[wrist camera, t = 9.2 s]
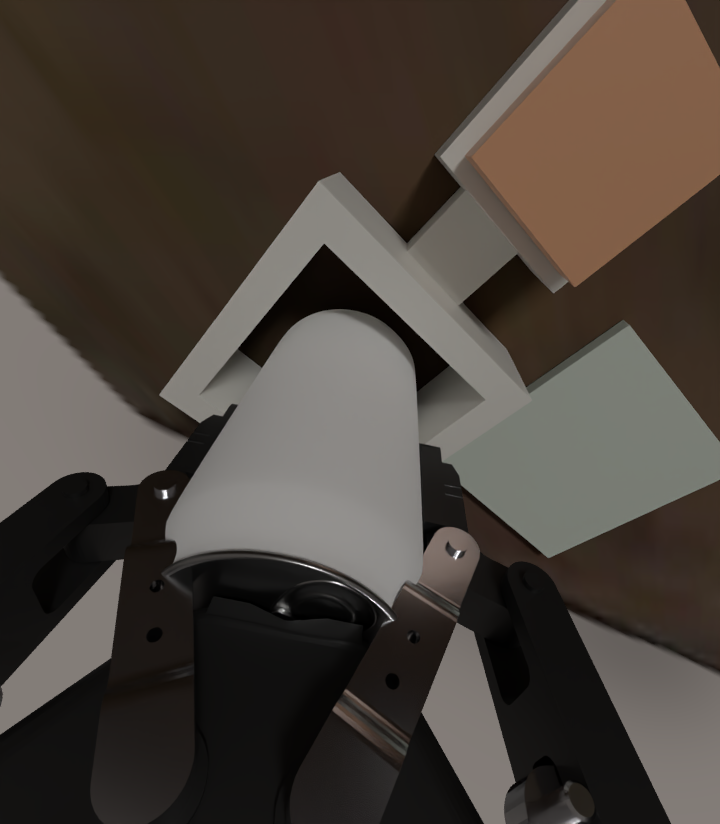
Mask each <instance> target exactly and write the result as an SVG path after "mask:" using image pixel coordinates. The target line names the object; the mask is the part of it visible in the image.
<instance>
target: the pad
mask: <svg viewBox="0 0 720 824" xmlns="http://www.w3.org/2000/svg"><path fill="white" fill-rule="evenodd" d="M526 389H527V391H528V393H529V395H530V397H531V399H532V401H531V402H530V403H528V404H527V405H525V406H524V407H522V408H521V409H519V410H518V411H516V412H515V413H513V414H512V415H510V416H509V417H507V418H506V419H504V420H503V421H501V422H500V423H498V424H497V425H495V426H494V427H492V428H491V429H490V430H488V431H487V432H485V433H484V434H482V435H481V436H479V437H478V438H476V439H475V440H473V441H472V442H470V443H469V444H467V445H466V446H464V447H463V448H461V449H460V450H458V451H457V452H455V453H454V454H452V455H451V456H450V457H448V458H447V459H445V460H444V461H442V462H443V463H448V464H452V465H453V467H454V468H455V470H456V472H457V473H458V475H459V477H460V484H461V485H462V486H463V487H464V488H465V489H466V490H468V491H469V492H470V493H471V494H472V495H474V496H475V497H476V498H477V499H478V500H480V501H481V502H482V503H483V504H484V505H485V506H487V507H488V508H489V509H490V510H491V511H493V512H494V513H495V514H496V515H497V516H499V517H500V518H501V519H502V520H503V521H505V522H506V523H507V524H508V525H509V526H511V527H512V528H513V529H514V530H515V531H517V532H518V533H519V534H520V535H521V536H523V537H524V538H525V539H526V540H527V541H529V542H530V543H531V544H532V545H533V546H535V547H536V548H537V549H538V550H539V551H541V552H542V553H543V554H544V555H545V556H546V557H548V558H550V557H552V556H554V555H556V554H558V553H561V552H563V551H565V550H567V549H569V548H572V547H574V546H576V545H578V544H580V543H582V542H585V541H587V540H589V539H591V538H593V537H596V536H598V535H600V534H602V533H604V532H607V531H609V530H611V529H613V528H615V527H617V526H620V525H622V524H624V523H626V522H628V521H631V520H633V519H635V518H637V517H639V516H641V515H644V514H646V513H648V512H650V511H652V510H655V509H657V508H659V507H661V506H663V505H665V504H668V503H670V502H672V501H674V500H676V499H679V498H681V497H683V496H685V495H687V494H689V493H692V492H694V491H696V490H698V489H700V488H703V487H705V486H707V485H709V484H711V483H713V482H716V481H718V480H720V442H719V441H718V440H717V438H716V437H715V436H714V434H713V433H712V432H711V430H710V429H709V428H708V427H707V425H706V424H705V423H704V421H703V420H702V419H701V417H700V416H699V415H698V414H697V412H696V411H695V410H694V408H693V407H692V406H691V404H690V403H689V402H688V401H687V399H686V398H685V397H684V395H683V394H682V393H681V391H680V390H679V389H678V388H677V386H676V385H675V384H674V382H673V381H672V380H671V378H670V377H669V376H668V375H667V373H666V372H665V371H664V369H663V368H662V367H661V365H660V364H659V363H658V362H657V360H656V359H655V358H654V356H653V355H652V354H651V352H650V351H649V350H648V349H647V347H646V346H645V345H644V343H643V342H642V341H641V339H640V338H639V337H638V336H637V334H636V333H635V332H634V330H633V329H632V328H631V326H630V325H629V324H628V323H626V322H625V321H624V320H622V321H621V322H619V323H618V324H616V325H615V326H613V327H612V328H611V329H609V330H608V331H606V332H605V333H603V334H602V335H601V336H599V337H598V338H596V339H595V340H593V341H592V342H591V343H589V344H588V345H586V346H585V347H583V348H582V349H580V350H579V351H578V352H576V353H575V354H573V355H572V356H570V357H569V358H568V359H566V360H565V361H563V362H562V363H560V364H559V365H558V366H556V367H555V368H553V369H552V370H550V371H549V372H548V373H546V374H545V375H543V376H542V377H540V378H539V379H538V380H536V381H535V382H533V383H532V384H530V385H529V386H527V387H526Z"/></svg>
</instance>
